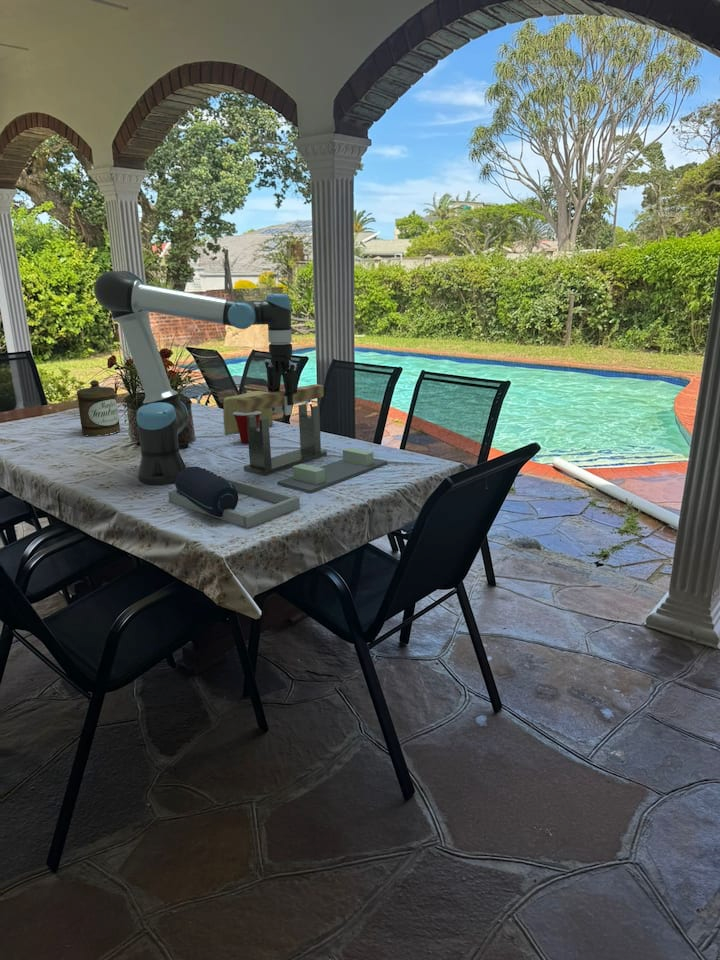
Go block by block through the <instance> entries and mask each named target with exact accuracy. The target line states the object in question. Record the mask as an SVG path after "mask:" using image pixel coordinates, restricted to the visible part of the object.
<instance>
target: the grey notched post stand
mask: <svg viewBox="0 0 720 960" xmlns="http://www.w3.org/2000/svg"><path fill="white" fill-rule="evenodd" d="M320 413H321V412H320V405H313V406H310V415H309V414H308V405H307V403H302V404H298V424H299V447H300V448H299V449H296V450H293V451H290V452H289V451H288V452H285V453H283V454H280V455H279V454H278V455H277V456H272V453H271V452H272V451H271V437H270V427H269V418H263V419H259V426H260V428H257V424H256V416H249V417H247V431H248V444H247V445H248V456H249V457H248V458H249V464H246V465H244V466H243V471H245V472H249V473H253V474H257V475H261V476H264V477H265V476H268V475H272V474H275V473H277V472H278V473H279V472H281V471H283V470H286V469H290V468H293V466H296V465H299V464H305V463H308V462H311V461H313V459H314V460H316V458H317V459H320V458H319V457H321V458H323V457H322V456H324V457H326V456H325V455H327V456H328V454H327V451H326V450H322V448H321V447H322V445H321V444H322V443H321V442H322V441H321V420H320V419H321V416H320V415H321V414H320ZM310 460H311V461H310Z"/></svg>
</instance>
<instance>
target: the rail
mask: <svg viewBox="0 0 720 960" xmlns="http://www.w3.org/2000/svg"><path fill="white" fill-rule="evenodd" d="M324 393H325V391H324V385H323V384H315V383H314V384H309V385H305V386H300V387H298V386H297V393H296V394H293V404H296V403H300V402H304V401H305V402H306V401H309V400H314V399H318V398H323V397H325V396H324ZM285 394H286V393H285V389H282V390H280V391H277V392H269V393H267V394H262V395H257V396H251V397H246V398H241V399H237V408H238V412H242V413H250V412H255V411H259V410H264V409H269V408H272V409H274V408H275V407H278V406H282V407H283V406H284V396H285Z"/></svg>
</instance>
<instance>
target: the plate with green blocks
mask: <svg viewBox="0 0 720 960" xmlns="http://www.w3.org/2000/svg"><path fill="white" fill-rule="evenodd" d="M386 465H388V461H387V460H383V459H378V458H374V451H370V450H366V449H359V448H354V447H348V448H345V449H342V459H339V460H335V461H334V462H330V463H327V464H323V465H322V466H314V465H309V464H305V463H302V464H299V465H296V466H293V467H292V475H291V476H289V477H287V478H283V479H280V480H278V481H277V482H276V485H278V486H281V487H285V488H289V489H292V490H295V491H300V492H303V493H307V494H312V493H315V492H318V491H320V490H323V489H326V488H328V487H331V486H333V485H336V484H338V483H341V482H344V481H346V480H349V479H352V478H355V477H357V476H359V475H362V474H364V473H368V472H370V471H372V470H375V469H378V468H380V467H381V468H382V466H386Z"/></svg>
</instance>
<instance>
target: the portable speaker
mask: <svg viewBox="0 0 720 960" xmlns="http://www.w3.org/2000/svg"><path fill="white" fill-rule="evenodd" d="M220 476H221V475H218V474H216V473H214V472H212V471H210V470H207V469H206V468H202V467H200V466H195V465H194V466H188V467H187V466H186V468H185V469H183V470H181V471H180V472H179V474H178V475H177V477H176V481H175V482H174V486H175V489H177V491H178V492H179V493H180V494H181V495H183V496H184V497H186V498H187V499H188V500H189V501H191V502H192V503H193V504H195V505H196V506H198V507H199V508H201V509H203V510H204V511H206V512H207V513H209V514H211V515H213V516H217V517H223V511H224V510H226V509H232V510H236V507H237V506H238V502H239V492H238V491H237V489H236V488H235V486H234V485H233V484H232V483H230V482H228V481H226V480H225V479H224V478H221V477H220ZM213 516H212V517H213Z"/></svg>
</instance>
